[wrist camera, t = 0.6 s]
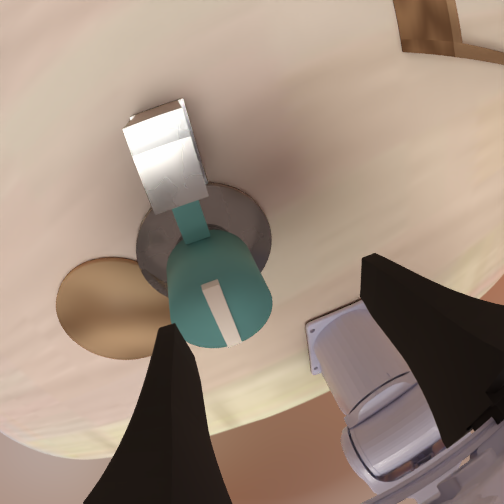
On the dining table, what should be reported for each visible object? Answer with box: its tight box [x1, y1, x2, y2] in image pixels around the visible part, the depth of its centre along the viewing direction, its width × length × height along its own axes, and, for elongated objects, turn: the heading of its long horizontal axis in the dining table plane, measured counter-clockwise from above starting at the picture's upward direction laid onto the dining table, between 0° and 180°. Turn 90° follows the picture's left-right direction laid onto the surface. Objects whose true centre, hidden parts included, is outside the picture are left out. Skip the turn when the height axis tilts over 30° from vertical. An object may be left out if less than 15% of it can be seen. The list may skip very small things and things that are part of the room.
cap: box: [166, 200, 272, 348], centre depth 15 cm, size 10×5×4 cm, turn 12°
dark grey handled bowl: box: [123, 98, 271, 298], centre depth 16 cm, size 14×9×6 cm, turn 12°
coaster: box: [56, 257, 171, 360], centre depth 21 cm, size 10×10×1 cm
